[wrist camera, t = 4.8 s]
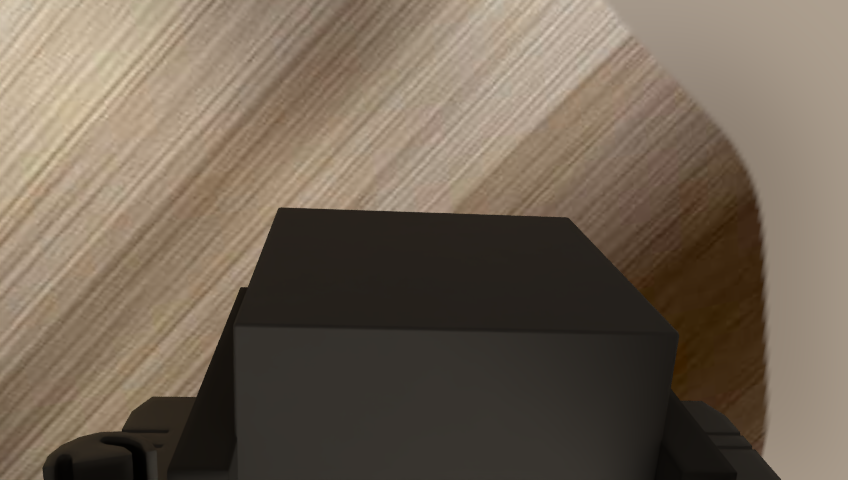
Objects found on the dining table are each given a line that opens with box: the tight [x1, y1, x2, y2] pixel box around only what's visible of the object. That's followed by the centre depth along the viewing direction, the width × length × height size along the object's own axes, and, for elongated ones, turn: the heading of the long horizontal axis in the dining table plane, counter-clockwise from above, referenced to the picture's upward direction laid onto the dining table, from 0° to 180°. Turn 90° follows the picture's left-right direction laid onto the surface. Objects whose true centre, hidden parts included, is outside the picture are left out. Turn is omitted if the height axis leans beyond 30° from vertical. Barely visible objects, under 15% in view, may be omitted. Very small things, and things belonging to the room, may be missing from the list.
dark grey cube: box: [233, 208, 679, 480], centre depth 14 cm, size 6×6×6 cm
